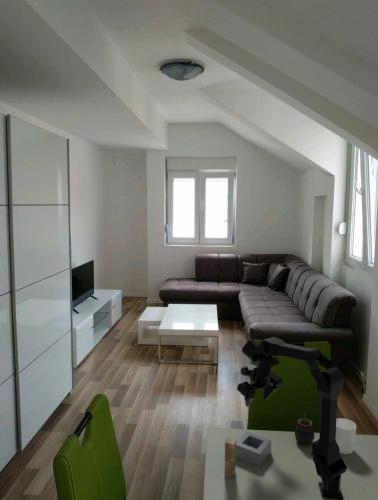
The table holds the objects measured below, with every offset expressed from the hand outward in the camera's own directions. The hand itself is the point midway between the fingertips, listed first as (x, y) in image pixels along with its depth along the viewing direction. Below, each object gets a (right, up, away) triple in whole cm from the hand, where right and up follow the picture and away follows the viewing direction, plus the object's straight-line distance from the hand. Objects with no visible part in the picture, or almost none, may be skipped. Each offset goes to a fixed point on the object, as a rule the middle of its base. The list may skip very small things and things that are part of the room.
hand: (255, 402), depth 153 cm
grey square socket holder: (-2, -16, -7) cm, 18 cm away
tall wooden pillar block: (-12, -17, -18) cm, 28 cm away
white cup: (+32, -16, -3) cm, 36 cm away
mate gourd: (+19, -16, +1) cm, 25 cm away
